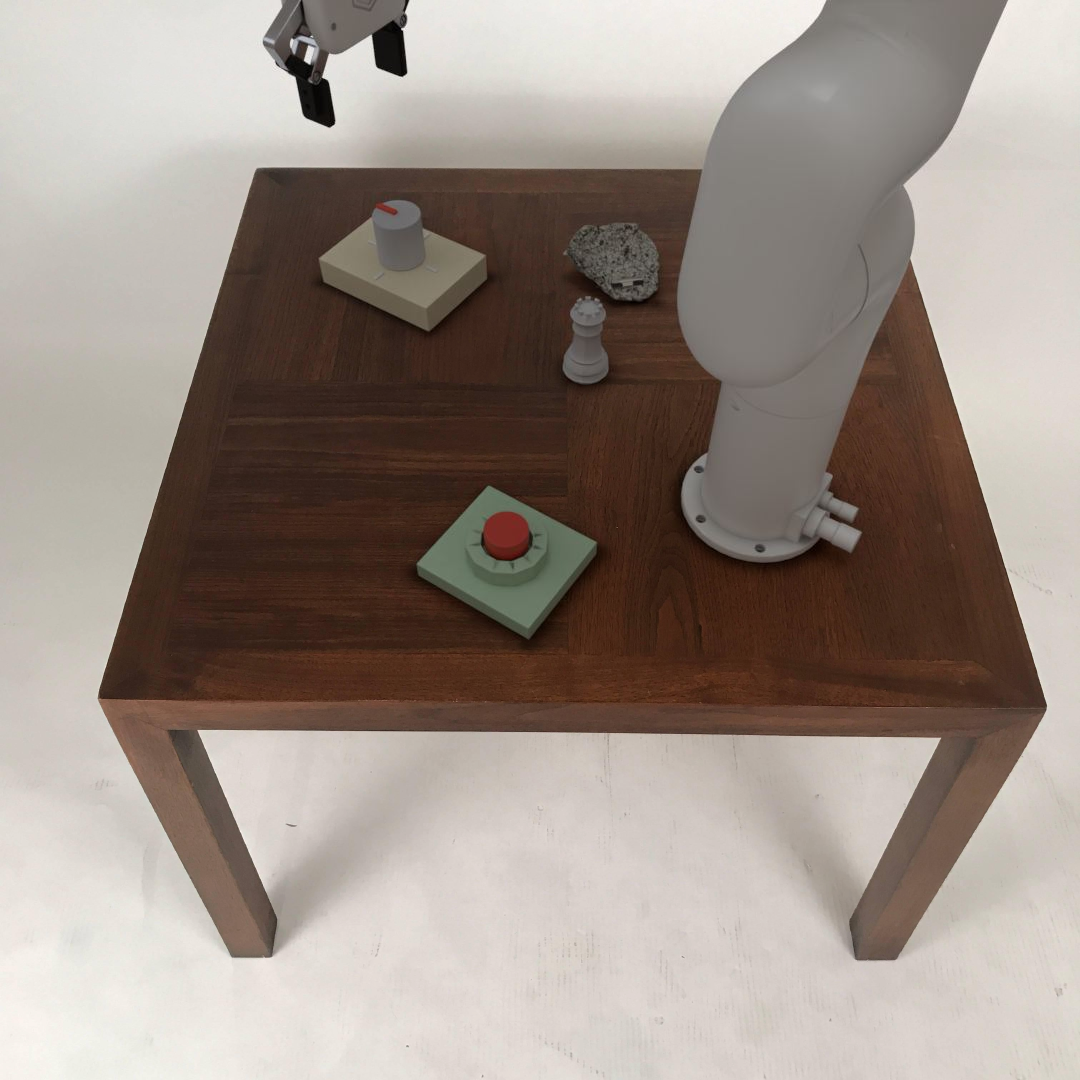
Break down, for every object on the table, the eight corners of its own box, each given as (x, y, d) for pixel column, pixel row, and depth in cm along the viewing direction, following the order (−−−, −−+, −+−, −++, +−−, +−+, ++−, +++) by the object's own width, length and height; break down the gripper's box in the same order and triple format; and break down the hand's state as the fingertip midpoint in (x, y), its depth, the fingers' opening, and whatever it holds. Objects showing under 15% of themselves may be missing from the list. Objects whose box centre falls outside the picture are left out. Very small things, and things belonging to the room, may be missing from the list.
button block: (596, 554, 82) (598, 528, 79) (528, 640, 77) (528, 616, 74) (489, 497, 86) (487, 471, 83) (418, 575, 81) (413, 550, 78)
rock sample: (614, 297, 95) (606, 205, 95) (564, 312, 101) (556, 226, 101) (688, 302, 102) (681, 216, 101) (637, 315, 108) (630, 235, 107)
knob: (435, 252, 101) (430, 207, 97) (405, 277, 99) (399, 232, 95) (398, 236, 103) (392, 191, 99) (369, 260, 100) (361, 215, 96)
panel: (487, 278, 103) (486, 253, 101) (429, 332, 98) (426, 307, 96) (384, 233, 108) (380, 208, 106) (323, 282, 103) (317, 257, 101)
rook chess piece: (604, 390, 93) (609, 324, 87) (558, 383, 94) (559, 318, 88) (611, 358, 96) (616, 292, 90) (566, 352, 97) (568, 286, 90)
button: (538, 537, 79) (537, 524, 78) (512, 567, 77) (511, 554, 76) (501, 517, 80) (500, 504, 79) (475, 547, 78) (474, 534, 77)
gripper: (281, -73, 66) (324, 157, 80) (436, -155, 75) (450, 66, 89) (200, -100, 69) (255, 128, 82) (359, -176, 77) (385, 42, 91)
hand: (356, 95), depth 86 cm, fingers open, 9 cm apart
